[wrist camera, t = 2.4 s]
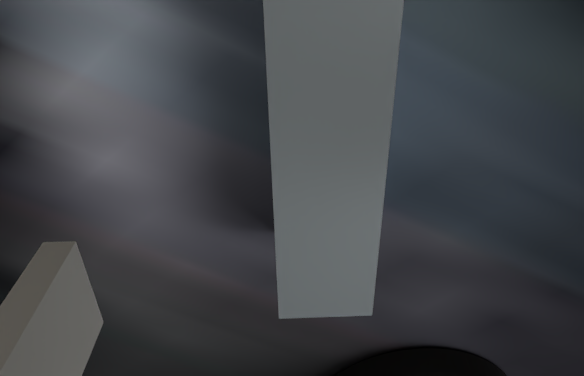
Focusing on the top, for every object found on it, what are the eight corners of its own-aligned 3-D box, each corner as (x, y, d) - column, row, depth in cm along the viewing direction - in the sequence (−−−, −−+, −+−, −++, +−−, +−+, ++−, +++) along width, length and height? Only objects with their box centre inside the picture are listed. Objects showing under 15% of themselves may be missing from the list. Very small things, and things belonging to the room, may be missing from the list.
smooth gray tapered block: (352, 230, 25) (371, 315, 20) (278, 233, 25) (278, 318, 20) (381, -234, 15) (434, -299, 10) (257, -231, 15) (248, -295, 10)
